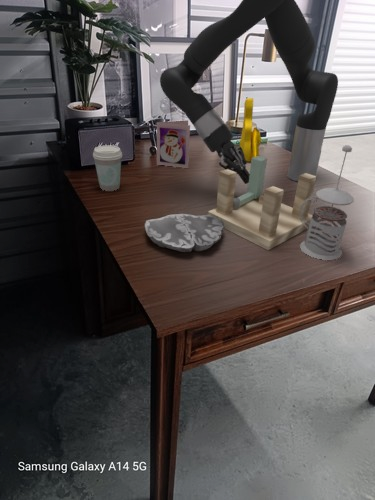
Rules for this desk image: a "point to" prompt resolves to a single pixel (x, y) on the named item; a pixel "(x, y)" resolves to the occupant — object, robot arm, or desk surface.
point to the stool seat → (264, 211)
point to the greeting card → (173, 143)
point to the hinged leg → (253, 182)
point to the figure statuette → (249, 133)
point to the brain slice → (185, 231)
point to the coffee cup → (108, 166)
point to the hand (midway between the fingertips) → (249, 181)
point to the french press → (322, 242)
